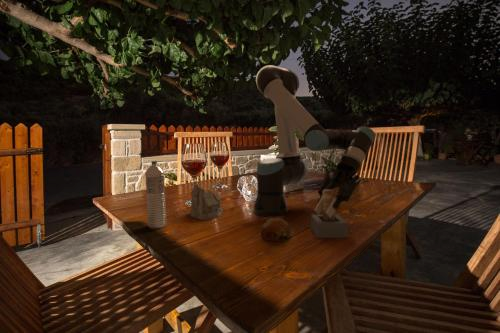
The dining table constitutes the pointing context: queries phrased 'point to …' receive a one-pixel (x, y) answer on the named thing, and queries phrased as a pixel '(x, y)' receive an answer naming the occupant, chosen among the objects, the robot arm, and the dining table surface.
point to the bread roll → (275, 230)
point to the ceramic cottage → (204, 204)
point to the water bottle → (155, 196)
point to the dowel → (328, 204)
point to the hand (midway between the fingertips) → (322, 213)
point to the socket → (329, 227)
